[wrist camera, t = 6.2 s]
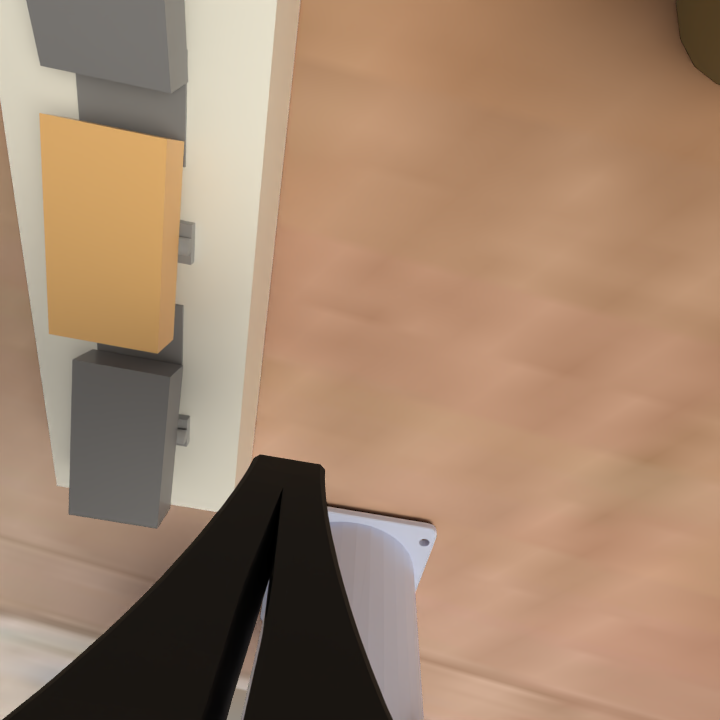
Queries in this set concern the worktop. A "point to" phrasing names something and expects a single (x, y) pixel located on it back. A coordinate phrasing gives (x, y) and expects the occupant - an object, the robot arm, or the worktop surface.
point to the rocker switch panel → (197, 218)
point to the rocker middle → (110, 232)
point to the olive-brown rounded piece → (701, 34)
